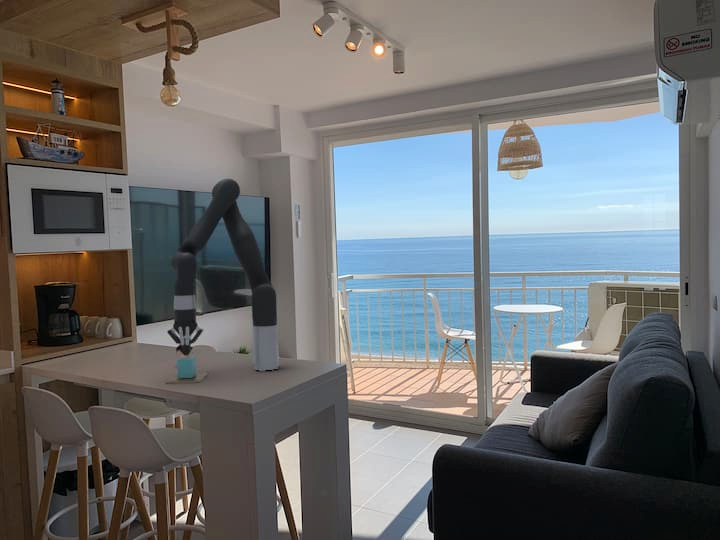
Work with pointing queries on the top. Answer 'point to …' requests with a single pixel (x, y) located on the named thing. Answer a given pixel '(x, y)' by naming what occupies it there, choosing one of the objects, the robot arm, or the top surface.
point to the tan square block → (196, 378)
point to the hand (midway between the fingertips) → (186, 355)
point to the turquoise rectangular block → (186, 367)
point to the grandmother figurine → (181, 351)
